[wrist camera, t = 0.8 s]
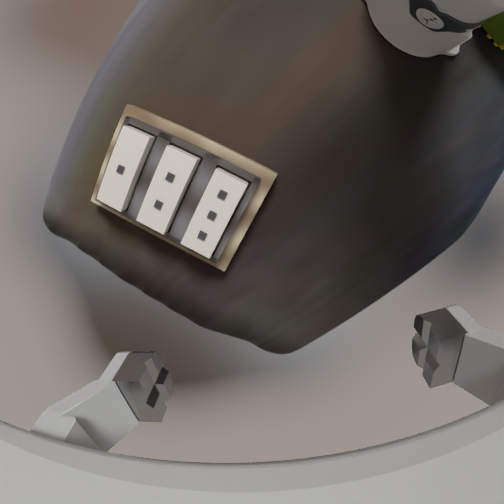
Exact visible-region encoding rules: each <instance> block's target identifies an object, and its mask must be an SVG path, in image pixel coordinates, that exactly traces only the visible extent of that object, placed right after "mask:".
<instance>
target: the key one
mask: <svg viewBox="0 0 504 504" xmlns="http://www.w3.org/2000/svg"><path fill="white" fill-rule="evenodd" d="M155 138H156V137H154V136H151V135H149V134H147V133H145V132H142V131H140V130H138V129H136V128H133V127H131V126H123V127H122V129H121V132H120V134H119V137H118V139H117V142H116V144H115V147H114V149H113V152H112V155H111V157H110V160H109V163H108V166H107V168H106V171H105V174H104V177H103V180H102V183H101V186H100V189H99V192H98V195H97V198H96V199H98V200H99V201H101V202H103V203H105V204H107V205H109V206H110V207H112V208H114V209H116V210H118V211H120V212H122V211H124V210H126V209H127V207H128V204H129V202H130V199H131V196H132V194H133V191H134V188H135V186H136V183H137V181H138V178H139V175H140V173H141V171H142V168H143V166H144V163H145V161H146V158H147V156H148V154H149V151H150V149H151V147H152V144H153V142H154V140H155Z"/></svg>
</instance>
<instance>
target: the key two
mask: <svg viewBox="0 0 504 504" xmlns="http://www.w3.org/2000/svg"><path fill="white" fill-rule="evenodd" d="M199 161H200V158H198V157H196V156H194V155H192V154H190V153H188V152H186V151H184V150H182V149H180V148H177V147H175V146H173V145H167V146H166V148H165V151H164V153H163V155H162V157H161V160H160V162H159V164H158V166H157V169H156V171H155V174H154V176H153V178H152V181H151V183H150V186H149V188H148V190H147V193H146V196H145V198H144V201H143V203H142V206H141V208H140V211H139V214H138V216H137V219H136V221H138V222H140V223H142V224H144V225H146V226H148V227H150V228H152V229H153V230H155V231H157V232H159V233H161V234H163V235H164V234H165V233H166V232H167V231H168V230H169V227H170V225H171V223H172V220H173V218H174V216H175V214H176V211H177V209H178V207H179V205H180V202H181V200H182V198H183V196H184V193H185V191H186V189H187V187H188V185H189V183H190V180H191V178H192V176H193V174H194V172H195V170H196V168H197V166H198V164H199Z"/></svg>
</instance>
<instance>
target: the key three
mask: <svg viewBox="0 0 504 504" xmlns="http://www.w3.org/2000/svg"><path fill="white" fill-rule="evenodd" d="M248 184H249V183H248V182H246V181H244V180H242V179H240V178H238V177H237V176H235V175H233V174H231V173H229V172H227V171H225V170H223V169H221V168H219V167H218V168H216V169H215V171H214V173H213V175H212V177H211V179H210V181H209V183H208V185H207V187H206V189H205V191H204V194H203V196H202V198H201V200H200V202H199V204H198V206H197V208H196V210H195V213H194V215H193V217H192V219H191V221H190V223H189V226H188V228H187V230H186V232H185V234H184V237H183V239H182V241H181V243H180V244H182V245H184V246H186V247H188V248H190V249H192V250H194V251H196V252H198V253H199V254H201V255H203V256H205V257H207V258H209V259H210V257H211V255H212V253H213V251H214V249H215V247H216V245H217V243H218V241H219V239H220V237H221V236H222V234H223V232H224V230H225V228H226V226H227V224H228V222H229V220H230V218H231V216H232V214H233V212H234V210H235V208H236V206H237V205H238V203H239V201H240V199H241V197H242V195H243V193H244V191H245V189H246V187H247V186H248Z"/></svg>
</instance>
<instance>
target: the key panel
mask: <svg viewBox="0 0 504 504" xmlns="http://www.w3.org/2000/svg"><path fill="white" fill-rule="evenodd" d="M123 126H131V127H133V128H136V129H138V130H140V131H142V132H145V133H147V134H149V135H151V136H154V137H156V138H155V140H154V142H153V144H152V147H151V149H150V151H149V154H148V156H147V158H146V161H145V163H144V166H143V168H142V171H141V173H140V175H139V178H138V181H137V183H136V186H135V188H134V191H133V194H132V196H131V199H130V202H129V204H128V207H127V209H126V210H124V211H122V212H120V211H118V210H116V209H114V208H112V207H110V206H109V205H107V204H105V203H103V202H101V201H99V200H98V199H96V198H97V195H98V192H99V189H100V186H101V183H102V180H103V177H104V174H105V171H106V168H107V166H108V163H109V160H110V157H111V155H112V152H113V149H114V147H115V144H116V142H117V139H118V137H119V134H120V132H121V129H122V127H123ZM167 145H173V146H175V147H177V148H180V149H182V150H184V151H186V152H188V153H190V154H192V155H194V156H196V157H198V158H200V161H199V164H198V166H197V168H196V170H195V172H194V174H193V176H192V178H191V180H190V183H189V185H188V187H187V189H186V191H185V193H184V196H183V198H182V200H181V202H180V205H179V207H178V209H177V211H176V214H175V216H174V218H173V220H172V223H171V225H170V227H169V230H168V231H167V232H166V233H165V234H164V235H163V234H161V233H159V232H157V231H155V230H153V229H152V228H150V227H148V226H146V225H144V224H142V223H140V222H138V221H136V219H137V216H138V214H139V211H140V208H141V206H142V203H143V201H144V198H145V196H146V193H147V190H148V188H149V186H150V183H151V181H152V178H153V176H154V174H155V171H156V169H157V166H158V164H159V162H160V160H161V157H162V155H163V153H164V151H165V148H166V146H167ZM218 167H219V168H221V169H223V170H225V171H227V172H229V173H231V174H233V175H235V176H237V177H238V178H240V179H242V180H244V181H246V182H248V183H249V184H248V186H247V187H246V189H245V191H244V193H243V195H242V197H241V199H240V201H239V203H238V205H237V206H236V208H235V210H234V212H233V214H232V216H231V218H230V220H229V222H228V224H227V226H226V228H225V230H224V232H223V234H222V236H221V237H220V239H219V241H218V243H217V245H216V247H215V249H214V251H213V253H212V255H211V257H210V259H209V258H207V257H205V256H203V255H201V254H199V253H198V252H196V251H194V250H192V249H190V248H188V247H186V246H184V245H182V244H180V243H181V241H182V239H183V237H184V234H185V232H186V230H187V228H188V226H189V223H190V221H191V219H192V217H193V215H194V213H195V210H196V208H197V206H198V204H199V202H200V200H201V198H202V196H203V194H204V191H205V189H206V187H207V185H208V183H209V181H210V179H211V177H212V175H213V173H214V171H215V169H216V168H218ZM276 176H277V173H276V172H274V171H273V170H271V169H269V168H267V167H265V166H263V165H261V164H259V163H257V162H255V161H253V160H252V159H250V158H248V157H246V156H244V155H242V154H240V153H238V152H236V151H234V150H232V149H230V148H228V147H226V146H224V145H222V144H219V143H217V142H215V141H213V140H211V139H209V138H207V137H205V136H203V135H201V134H198V133H196V132H194V131H192V130H190V129H187V128H185V127H183V126H181V125H179V124H176V123H174V122H172V121H170V120H167V119H165V118H163V117H160V116H158V115H156V114H153V113H151V112H149V111H146V110H144V109H141V108H139V107H136V106H134V105H129V104H127V105H126V107H125V110H124V112H123V114H122V117H121V119H120V121H119V124H118V126H117V128H116V131H115V133H114V136H113V138H112V141H111V144H110V146H109V149H108V151H107V154H106V157H105V160H104V162H103V165H102V168H101V171H100V174H99V177H98V180H97V183H96V186H95V189H94V192H93V195H92V199H91V201H92V202H94V203H96V204H97V205H99V206H101V207H103V208H105V209H107V210H108V211H110V212H112V213H114V214H116V215H117V216H119V217H121V218H123V219H125V220H127V221H129V222H130V223H132V224H134V225H136V226H138V227H140V228H142V229H143V230H145V231H147V232H149V233H151V234H153V235H155V236H157V237H159V238H160V239H162V240H164V241H166V242H168V243H170V244H172V245H174V246H176V247H178V248H180V249H181V250H183V251H185V252H187V253H189V254H191V255H193V256H195V257H197V258H199V259H201V260H203V261H205V262H207V263H209V264H211V265H213V266H214V267H216V268H218V269H220V270H222V271H224V272H225V270H226V268H227V266H228V265H229V263H230V261H231V259H232V257H233V255H234V253H235V252H236V250H237V248H238V246H239V244H240V242H241V240H242V239H243V237H244V235H245V233H246V231H247V229H248V227H249V226H250V224H251V222H252V220H253V218H254V216H255V215H256V213H257V211H258V209H259V207H260V205H261V204H262V202H263V200H264V198H265V196H266V194H267V193H268V191H269V189H270V187H271V185H272V184H273V182H274V180H275V178H276Z"/></svg>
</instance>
